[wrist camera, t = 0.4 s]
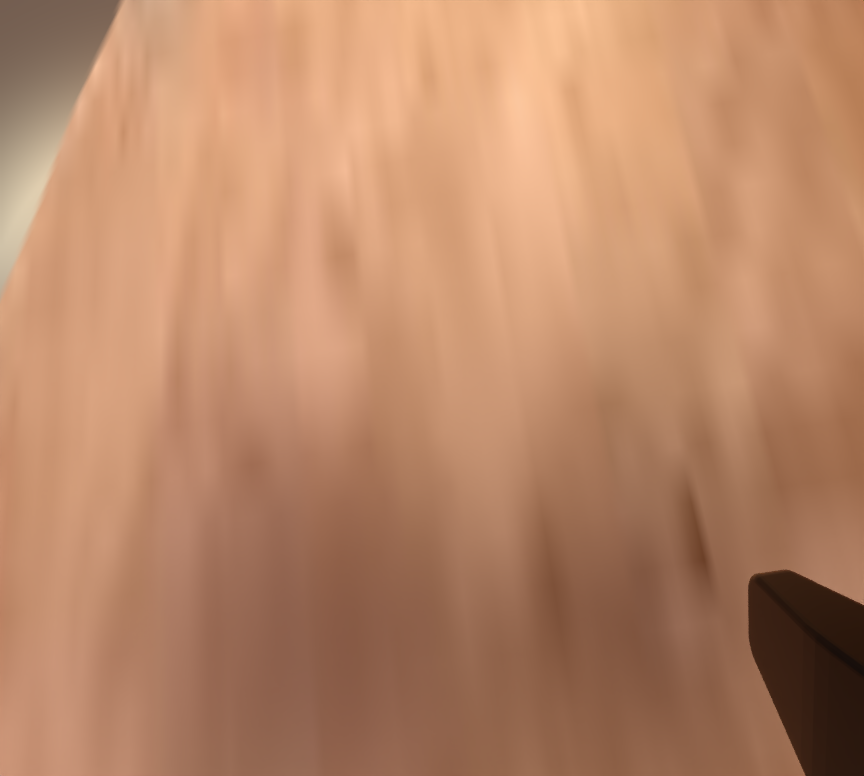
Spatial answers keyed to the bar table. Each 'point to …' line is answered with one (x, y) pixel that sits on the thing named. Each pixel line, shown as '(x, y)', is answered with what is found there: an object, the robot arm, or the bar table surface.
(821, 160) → the bar table surface
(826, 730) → the robot arm
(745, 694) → the bar table surface
